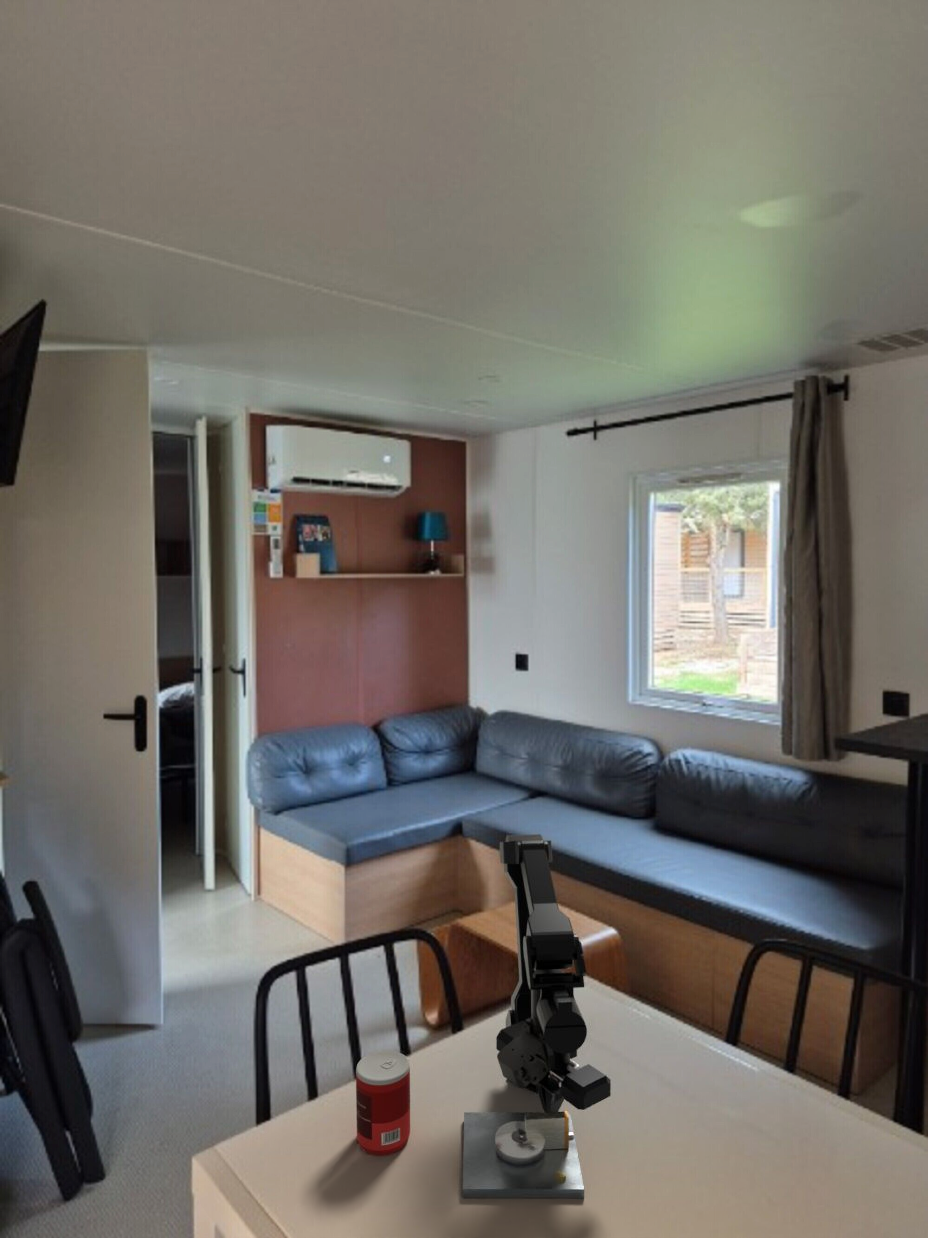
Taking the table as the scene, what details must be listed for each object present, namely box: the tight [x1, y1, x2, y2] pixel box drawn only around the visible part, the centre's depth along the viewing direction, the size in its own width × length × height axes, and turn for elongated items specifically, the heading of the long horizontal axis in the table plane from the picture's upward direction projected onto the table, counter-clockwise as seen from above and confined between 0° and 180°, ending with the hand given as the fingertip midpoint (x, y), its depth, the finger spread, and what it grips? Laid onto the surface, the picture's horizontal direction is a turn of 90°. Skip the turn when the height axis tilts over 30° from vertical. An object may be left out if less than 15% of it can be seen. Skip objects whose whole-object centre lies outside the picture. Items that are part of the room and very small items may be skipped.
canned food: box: [355, 1050, 411, 1156], centre depth 120 cm, size 8×8×11 cm
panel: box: [462, 1111, 585, 1199], centre depth 116 cm, size 16×16×2 cm
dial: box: [495, 1110, 569, 1165], centre depth 116 cm, size 10×7×4 cm
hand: (550, 1119), depth 118 cm, fingers closed
